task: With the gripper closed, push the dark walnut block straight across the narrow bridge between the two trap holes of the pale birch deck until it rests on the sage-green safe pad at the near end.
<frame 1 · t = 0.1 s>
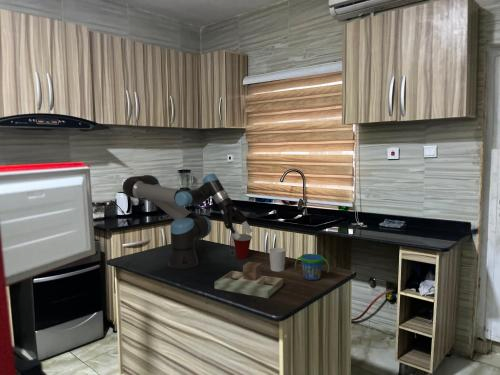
hand: (244, 235, 194), 15 cm above the countertop, tool tilted 35°, fingers open, 13 cm apart
plastic cup: (242, 258, 208), on the countertop
walnut block: (252, 277, 167), point 3 cm above the countertop, touching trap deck
white cup: (277, 270, 188), on the countertop
snack cup: (311, 278, 175), on the countertop
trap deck: (248, 286, 164), on the countertop
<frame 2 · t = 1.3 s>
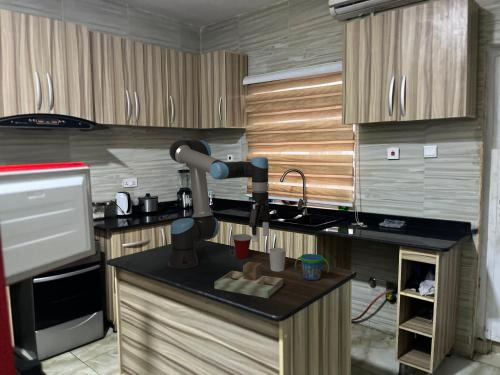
hand: (260, 238, 174), 18 cm above the countertop, tool pointing down, fingers open, 11 cm apart
nothing on the countertop moved.
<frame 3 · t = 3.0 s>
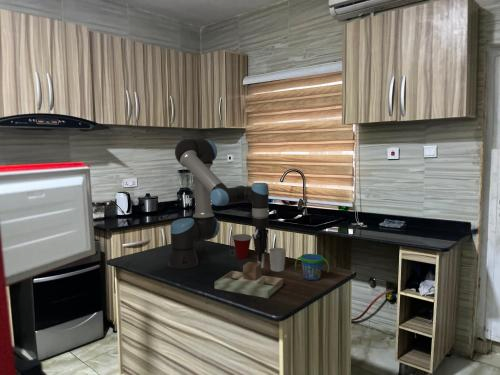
hand: (261, 267, 175), 5 cm above the countertop, tool pointing down, fingers closed
nothing on the countertop moved.
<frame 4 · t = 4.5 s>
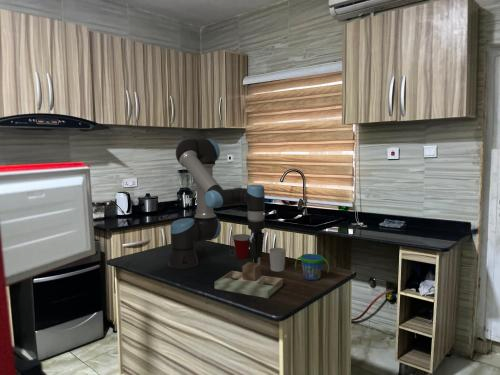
hand: (256, 271, 171), 5 cm above the countertop, tool pointing down, fingers closed
walnut block: (251, 278, 167), point 3 cm above the countertop, touching gripper, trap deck
everything else where it was.
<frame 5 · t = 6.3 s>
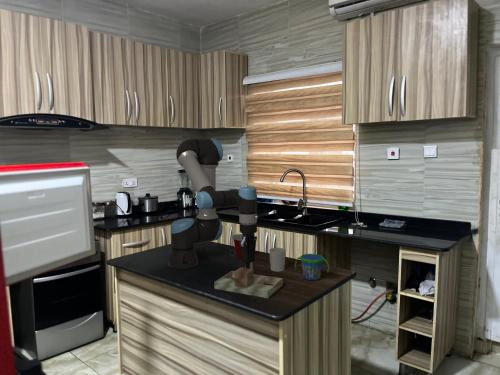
hand: (249, 276, 164), 5 cm above the countertop, tool pointing down, fingers closed
walnut block: (244, 284, 159), point 3 cm above the countertop, touching gripper, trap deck
everything else where it was.
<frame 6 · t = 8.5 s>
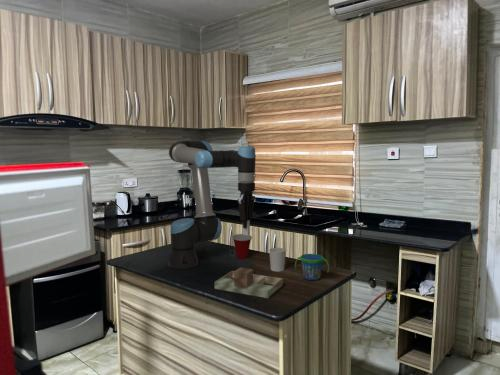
hand: (246, 234, 169), 22 cm above the countertop, tool pointing down, fingers closed
walnut block: (243, 284, 159), point 3 cm above the countertop, touching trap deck
everything else where it was.
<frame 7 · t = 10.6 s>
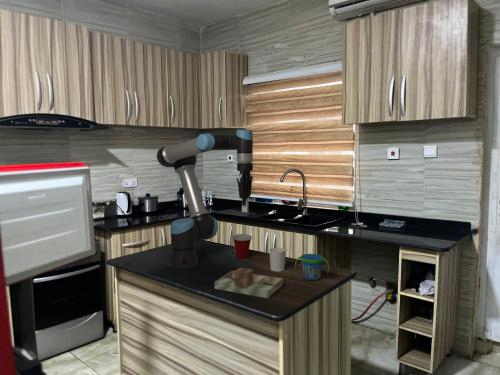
hand: (245, 211, 182), 29 cm above the countertop, tool pointing down, fingers closed
nothing on the countertop moved.
at the end: walnut block inside the target area (1.7 cm from its centre), point 3.0 cm above the countertop; walnut block tilted 0°; the gripper is holding nothing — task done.
